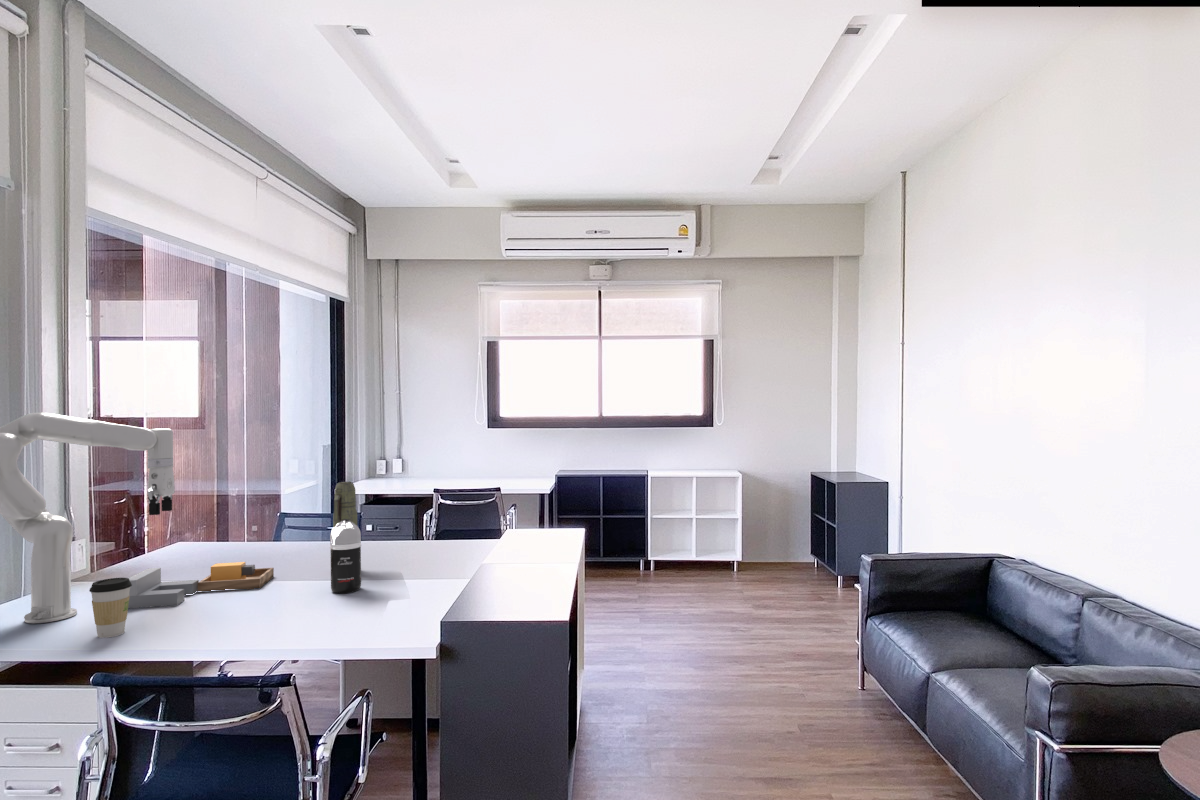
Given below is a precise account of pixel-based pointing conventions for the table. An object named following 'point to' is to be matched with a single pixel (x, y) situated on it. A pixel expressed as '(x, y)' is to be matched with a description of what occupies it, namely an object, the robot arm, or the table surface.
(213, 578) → the orange wooden block
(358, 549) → the spray bottle
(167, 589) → the dock
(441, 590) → the table surface
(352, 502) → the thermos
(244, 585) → the tray
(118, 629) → the coffee cup
